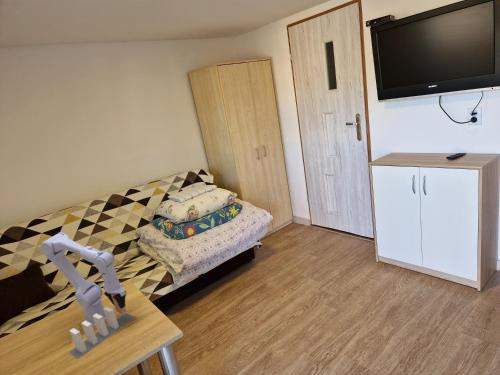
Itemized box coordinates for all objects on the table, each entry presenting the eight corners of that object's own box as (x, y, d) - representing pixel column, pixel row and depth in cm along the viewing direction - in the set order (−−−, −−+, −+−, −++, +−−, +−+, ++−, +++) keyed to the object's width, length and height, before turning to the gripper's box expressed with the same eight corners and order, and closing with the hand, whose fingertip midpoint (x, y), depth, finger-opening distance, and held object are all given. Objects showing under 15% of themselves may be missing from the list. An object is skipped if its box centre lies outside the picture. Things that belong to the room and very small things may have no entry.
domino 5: (116, 311, 153) (110, 293, 151) (119, 308, 155) (114, 291, 152) (122, 314, 150) (116, 296, 148) (126, 311, 152) (120, 294, 149)
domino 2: (87, 341, 144) (81, 323, 141) (91, 338, 145) (85, 320, 142) (94, 344, 140) (87, 326, 138) (98, 341, 142) (91, 323, 139)
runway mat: (68, 353, 139) (68, 352, 139) (125, 313, 159) (125, 312, 159) (78, 359, 134) (78, 358, 134) (135, 317, 154) (135, 317, 154)
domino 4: (109, 326, 151) (103, 308, 148) (112, 323, 152) (106, 306, 150) (115, 329, 148) (109, 311, 145) (119, 326, 149) (113, 309, 147)
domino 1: (76, 349, 140) (69, 330, 137) (80, 346, 141) (73, 328, 139) (82, 353, 137) (75, 334, 134) (86, 350, 138) (79, 331, 136)
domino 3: (98, 333, 147) (92, 315, 145) (102, 330, 149) (96, 313, 146) (105, 336, 144) (98, 318, 142) (108, 334, 146) (102, 316, 143)
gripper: (128, 277, 147) (136, 304, 150) (109, 271, 156) (118, 297, 159) (113, 286, 141) (122, 314, 145) (95, 279, 150) (104, 305, 154)
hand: (119, 305), depth 152 cm, fingers closed on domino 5, 5 cm apart
